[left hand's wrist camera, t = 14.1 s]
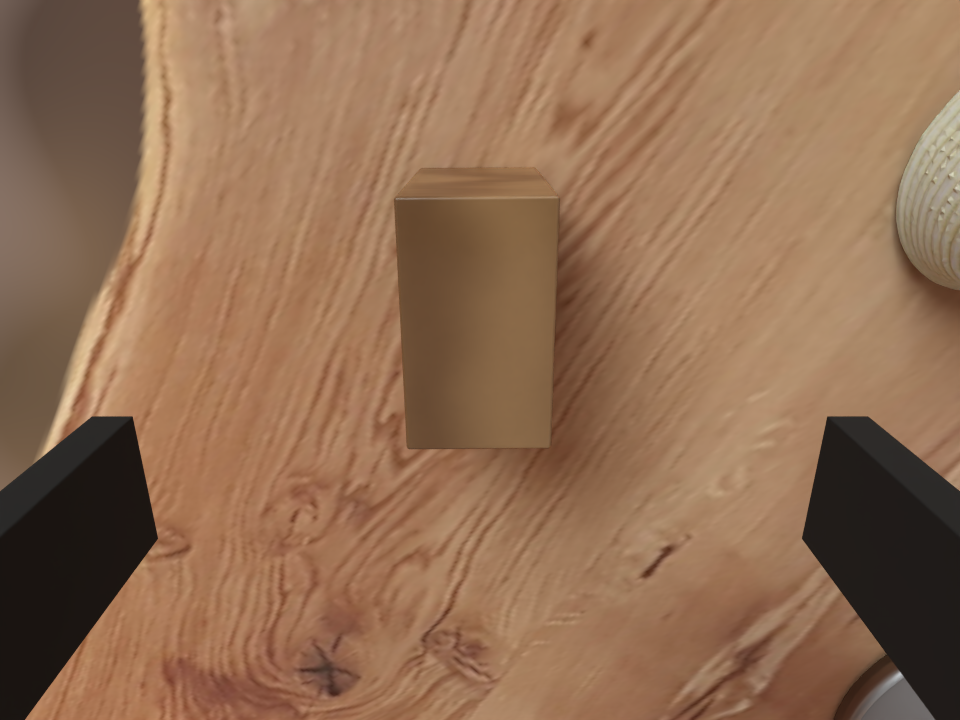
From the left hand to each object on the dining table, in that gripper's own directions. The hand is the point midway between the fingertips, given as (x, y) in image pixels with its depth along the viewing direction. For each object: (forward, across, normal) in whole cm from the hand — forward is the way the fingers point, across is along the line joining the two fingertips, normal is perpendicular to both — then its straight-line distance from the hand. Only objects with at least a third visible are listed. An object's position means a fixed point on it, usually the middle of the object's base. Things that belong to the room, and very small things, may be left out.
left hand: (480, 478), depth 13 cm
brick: (+18, 0, 0) cm, 18 cm away
